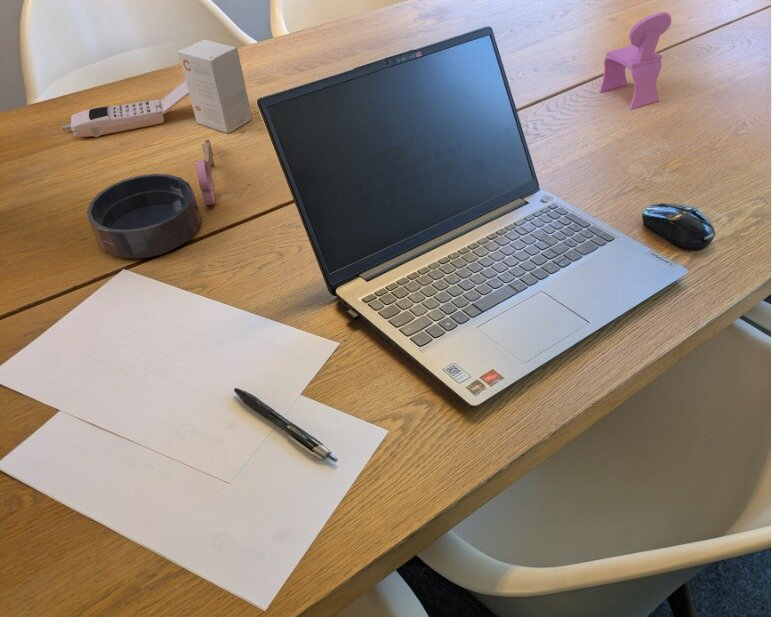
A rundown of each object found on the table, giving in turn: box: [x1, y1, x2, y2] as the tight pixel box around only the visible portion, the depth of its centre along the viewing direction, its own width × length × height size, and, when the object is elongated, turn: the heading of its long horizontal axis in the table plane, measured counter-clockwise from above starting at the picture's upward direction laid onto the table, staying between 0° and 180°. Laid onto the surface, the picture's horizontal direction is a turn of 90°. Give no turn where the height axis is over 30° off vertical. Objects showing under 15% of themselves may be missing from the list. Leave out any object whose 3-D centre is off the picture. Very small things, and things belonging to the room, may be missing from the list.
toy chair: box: [599, 11, 672, 110], centre depth 113 cm, size 8×9×15 cm
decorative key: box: [195, 139, 216, 206], centre depth 103 cm, size 7×1×20 cm
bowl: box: [86, 173, 201, 260], centre depth 93 cm, size 14×14×5 cm
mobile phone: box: [61, 79, 190, 138], centre depth 117 cm, size 6×6×25 cm
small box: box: [178, 39, 253, 134], centre depth 113 cm, size 8×6×13 cm
